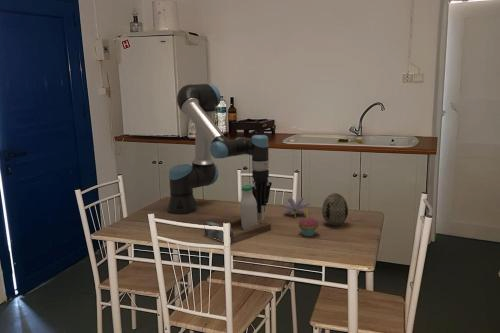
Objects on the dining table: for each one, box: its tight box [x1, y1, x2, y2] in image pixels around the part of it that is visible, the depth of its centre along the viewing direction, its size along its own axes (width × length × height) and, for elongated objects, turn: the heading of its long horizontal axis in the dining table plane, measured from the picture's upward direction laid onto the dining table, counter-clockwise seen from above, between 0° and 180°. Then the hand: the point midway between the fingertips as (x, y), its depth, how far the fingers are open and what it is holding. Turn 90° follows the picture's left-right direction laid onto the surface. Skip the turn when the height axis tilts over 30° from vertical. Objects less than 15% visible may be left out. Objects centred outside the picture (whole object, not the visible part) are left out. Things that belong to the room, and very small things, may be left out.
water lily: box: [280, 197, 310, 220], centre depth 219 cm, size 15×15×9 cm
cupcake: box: [298, 208, 320, 237], centre depth 194 cm, size 9×8×12 cm
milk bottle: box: [239, 184, 260, 231], centre depth 202 cm, size 8×8×20 cm
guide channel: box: [204, 217, 272, 245], centre depth 199 cm, size 16×25×6 cm, turn 134°
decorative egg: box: [321, 192, 349, 227], centre depth 206 cm, size 12×12×15 cm
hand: (261, 219), depth 209 cm, fingers closed
